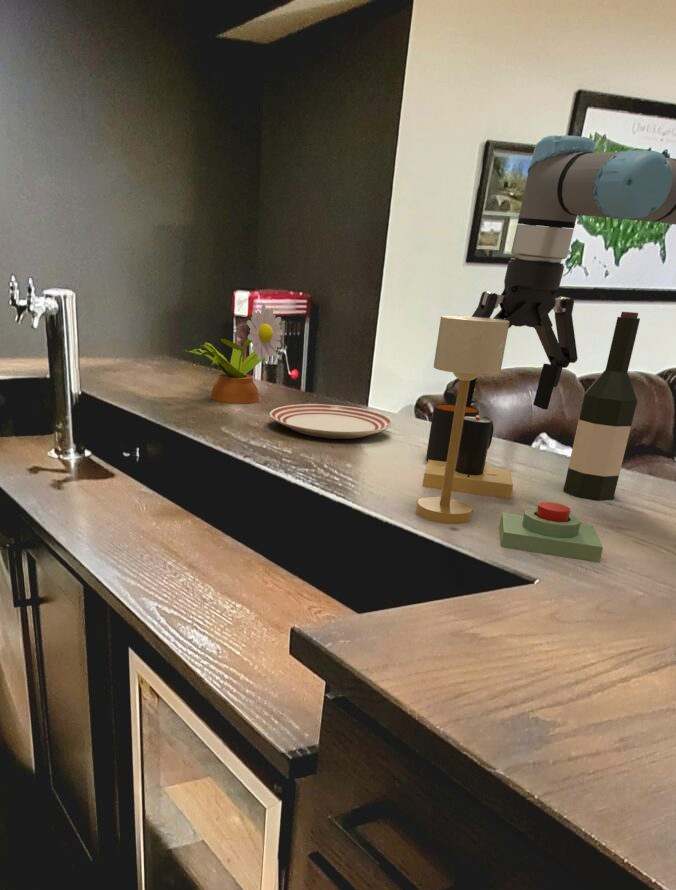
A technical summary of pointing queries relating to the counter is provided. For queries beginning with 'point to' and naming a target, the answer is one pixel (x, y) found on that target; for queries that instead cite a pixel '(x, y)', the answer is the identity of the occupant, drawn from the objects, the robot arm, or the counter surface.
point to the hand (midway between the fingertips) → (502, 406)
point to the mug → (445, 430)
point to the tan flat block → (471, 480)
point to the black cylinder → (473, 445)
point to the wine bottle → (605, 421)
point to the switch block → (550, 536)
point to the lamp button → (553, 512)
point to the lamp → (462, 395)
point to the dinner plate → (331, 420)
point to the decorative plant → (234, 381)
